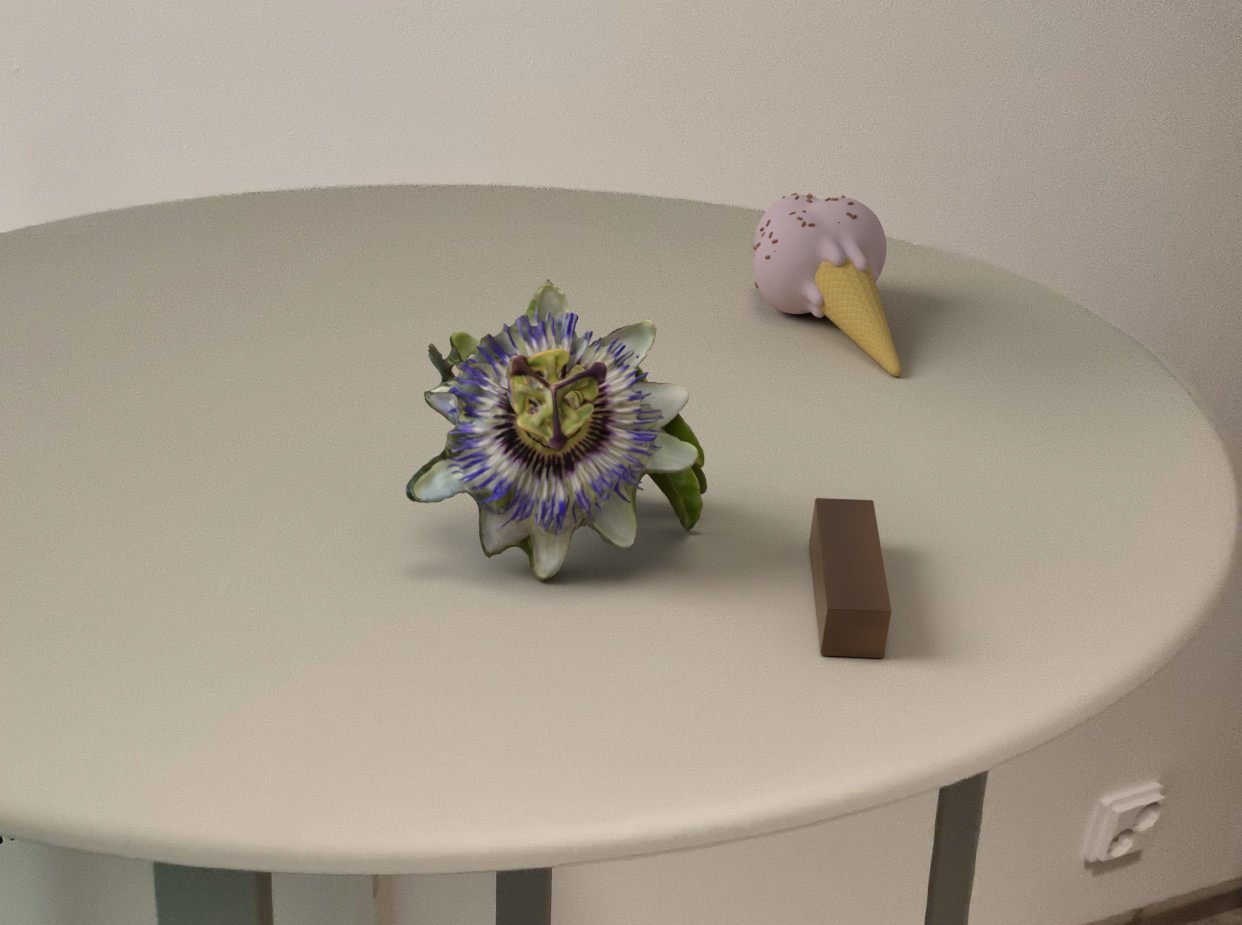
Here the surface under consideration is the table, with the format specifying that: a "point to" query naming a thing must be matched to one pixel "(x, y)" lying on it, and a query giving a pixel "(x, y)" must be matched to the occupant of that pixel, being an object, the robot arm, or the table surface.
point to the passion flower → (558, 434)
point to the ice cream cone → (826, 267)
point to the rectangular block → (849, 579)
